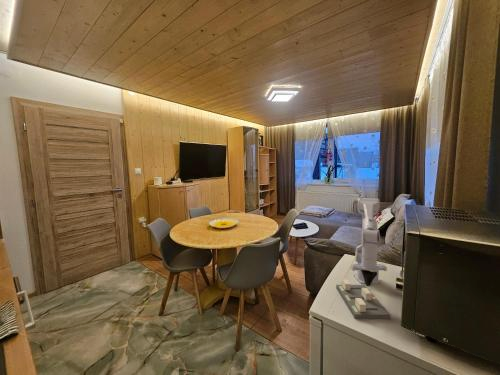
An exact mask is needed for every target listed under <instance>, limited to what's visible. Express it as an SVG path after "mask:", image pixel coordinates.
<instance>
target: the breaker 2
mask: <svg viewBox="0 0 500 375" xmlns="http://www.w3.org/2000/svg"><path fill="white" fill-rule="evenodd" d="M355 306H356V307H357V308H358V310H359V311H360V312H366V304H365V303H364V301H363V300H362V299H361V298H355Z"/></svg>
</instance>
